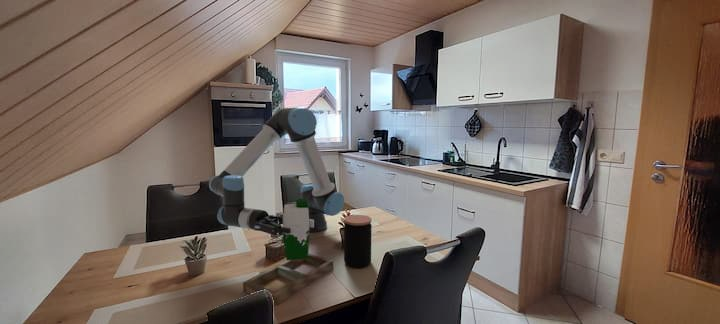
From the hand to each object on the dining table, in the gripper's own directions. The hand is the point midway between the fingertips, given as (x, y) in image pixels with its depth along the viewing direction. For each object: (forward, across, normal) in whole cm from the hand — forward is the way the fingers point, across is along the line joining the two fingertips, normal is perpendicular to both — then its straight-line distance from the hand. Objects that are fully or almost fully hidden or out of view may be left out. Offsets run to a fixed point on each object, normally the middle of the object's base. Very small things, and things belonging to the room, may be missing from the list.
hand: (306, 227), depth 105 cm
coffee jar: (+12, -18, -19) cm, 28 cm away
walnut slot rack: (-5, +2, -18) cm, 19 cm away
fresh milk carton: (-5, 0, -11) cm, 12 cm away
